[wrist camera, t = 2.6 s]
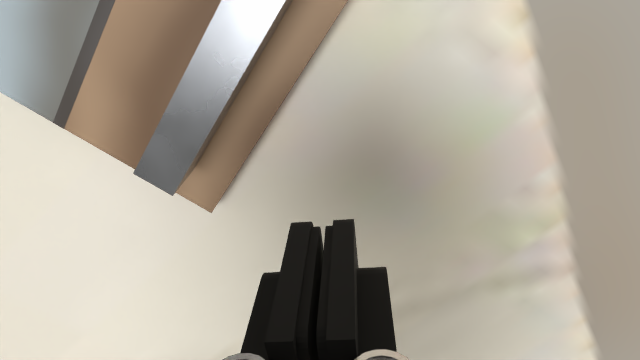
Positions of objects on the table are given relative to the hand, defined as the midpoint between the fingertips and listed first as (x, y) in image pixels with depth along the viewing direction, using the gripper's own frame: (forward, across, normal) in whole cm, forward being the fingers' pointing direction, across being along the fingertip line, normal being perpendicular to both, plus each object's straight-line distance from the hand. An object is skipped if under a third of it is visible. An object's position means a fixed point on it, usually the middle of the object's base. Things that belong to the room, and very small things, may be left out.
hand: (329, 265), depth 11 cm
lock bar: (+11, +4, -5) cm, 12 cm away
